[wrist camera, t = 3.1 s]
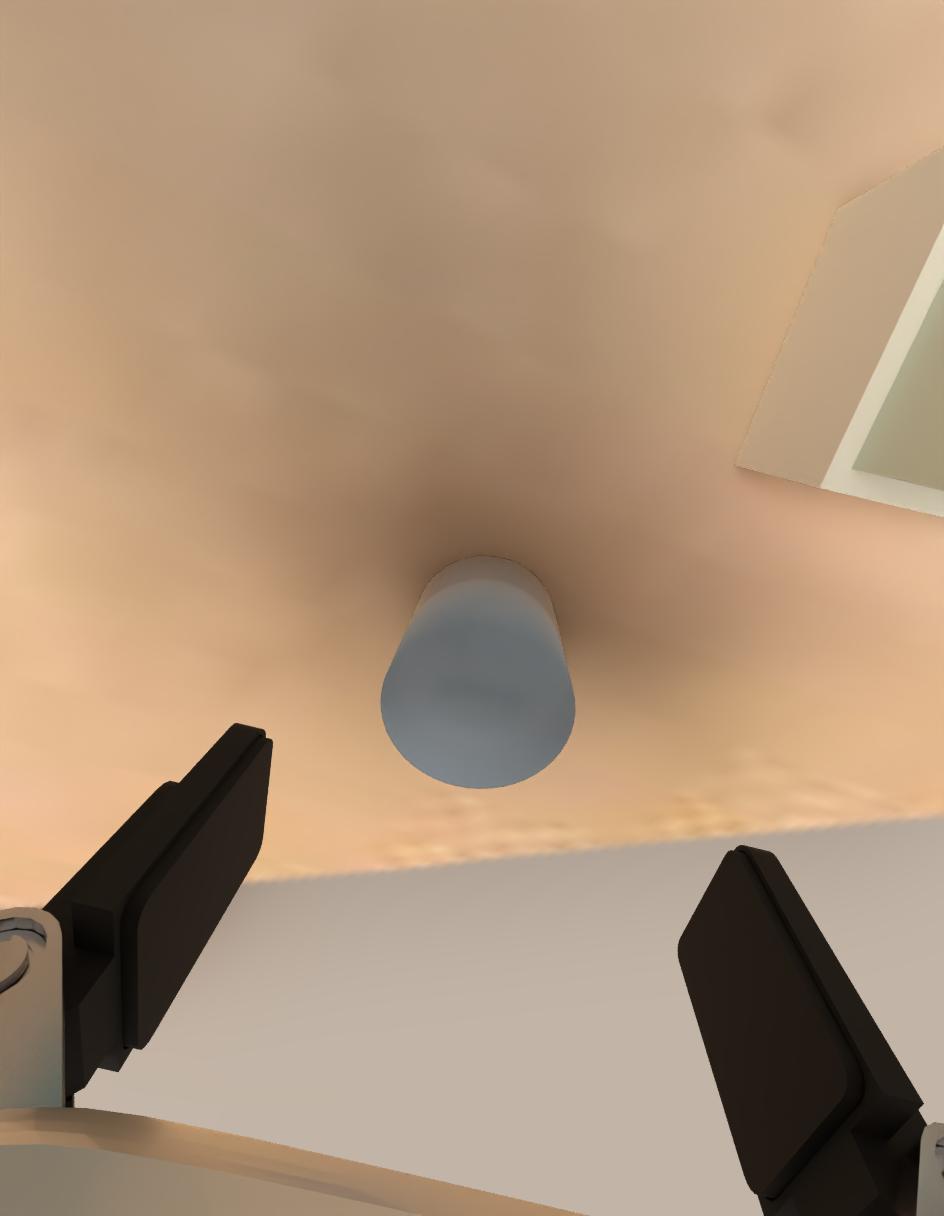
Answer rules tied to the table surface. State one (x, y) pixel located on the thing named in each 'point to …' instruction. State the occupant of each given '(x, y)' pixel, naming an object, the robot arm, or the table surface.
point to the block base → (854, 340)
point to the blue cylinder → (480, 678)
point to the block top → (913, 413)
